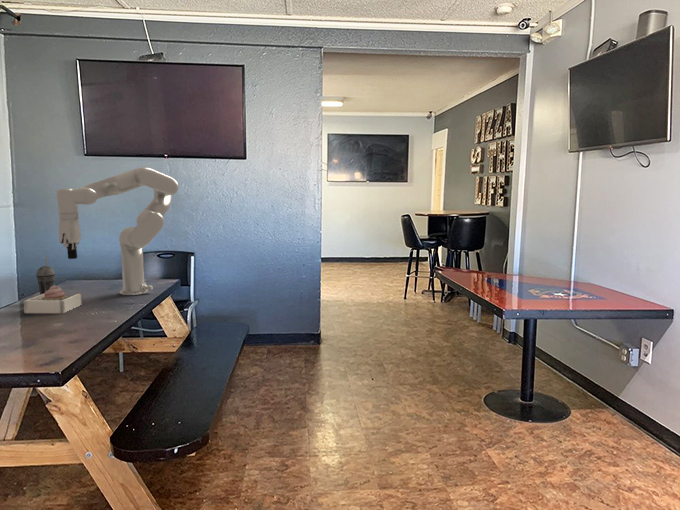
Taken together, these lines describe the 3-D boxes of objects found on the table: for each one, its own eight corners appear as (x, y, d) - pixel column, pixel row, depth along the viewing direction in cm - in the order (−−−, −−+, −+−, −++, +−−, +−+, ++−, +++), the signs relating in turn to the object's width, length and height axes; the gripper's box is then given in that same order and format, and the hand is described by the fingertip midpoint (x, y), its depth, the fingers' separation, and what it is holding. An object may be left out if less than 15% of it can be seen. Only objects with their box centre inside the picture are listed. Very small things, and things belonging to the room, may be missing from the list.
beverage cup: (33, 301, 215) (30, 256, 212) (48, 298, 222) (45, 254, 219) (46, 303, 213) (43, 257, 210) (60, 299, 220) (57, 255, 217)
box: (81, 305, 210) (80, 293, 209) (63, 313, 196) (62, 301, 195) (45, 304, 210) (44, 293, 209) (24, 313, 196) (23, 300, 195)
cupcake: (55, 311, 198) (53, 287, 197) (37, 310, 201) (35, 286, 200) (73, 306, 207) (72, 283, 206) (55, 305, 210) (54, 282, 209)
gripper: (69, 215, 221) (73, 256, 224) (50, 218, 206) (54, 261, 209) (86, 215, 221) (89, 255, 224) (68, 218, 206) (72, 261, 209)
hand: (72, 258), depth 216 cm, fingers closed
